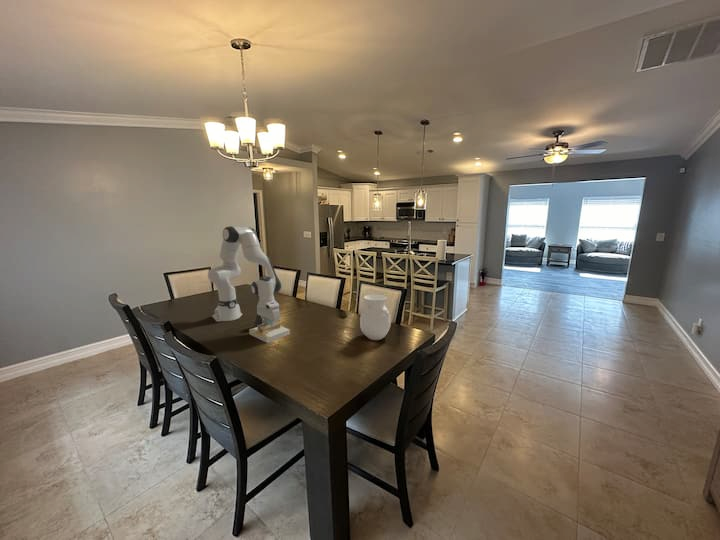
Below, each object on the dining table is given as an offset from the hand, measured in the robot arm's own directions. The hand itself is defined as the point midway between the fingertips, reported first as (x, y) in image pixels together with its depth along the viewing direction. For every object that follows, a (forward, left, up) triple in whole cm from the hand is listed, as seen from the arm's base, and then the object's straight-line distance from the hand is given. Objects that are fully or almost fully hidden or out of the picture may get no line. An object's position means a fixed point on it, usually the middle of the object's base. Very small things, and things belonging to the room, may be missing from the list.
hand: (268, 324), depth 177 cm
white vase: (+54, +38, -7) cm, 67 cm away
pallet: (0, 0, -3) cm, 3 cm away
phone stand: (-15, +4, -7) cm, 17 cm away
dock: (0, 0, -6) cm, 6 cm away
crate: (0, 0, +1) cm, 1 cm away
